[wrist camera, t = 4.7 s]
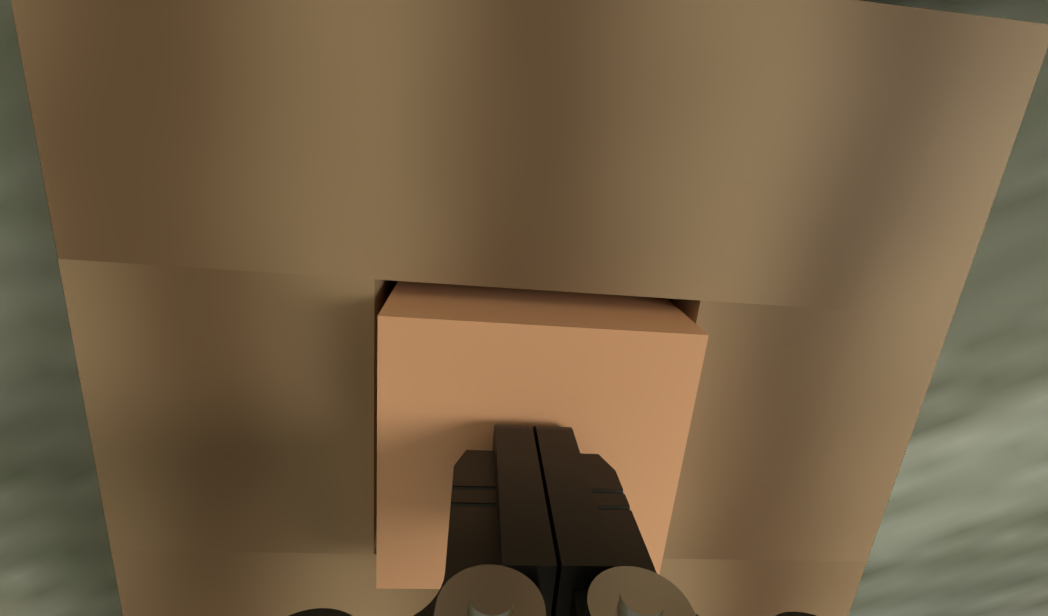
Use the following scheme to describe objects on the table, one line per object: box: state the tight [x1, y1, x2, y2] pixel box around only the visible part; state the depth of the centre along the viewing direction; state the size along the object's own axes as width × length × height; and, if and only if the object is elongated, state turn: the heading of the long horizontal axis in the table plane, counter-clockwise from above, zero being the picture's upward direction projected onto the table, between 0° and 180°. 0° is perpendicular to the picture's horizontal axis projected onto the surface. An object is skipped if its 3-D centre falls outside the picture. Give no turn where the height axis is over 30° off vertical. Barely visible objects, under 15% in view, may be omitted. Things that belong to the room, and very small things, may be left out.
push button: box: [376, 281, 709, 589], centre depth 12 cm, size 6×6×4 cm
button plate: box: [11, 0, 1048, 616], centre depth 13 cm, size 18×18×3 cm
